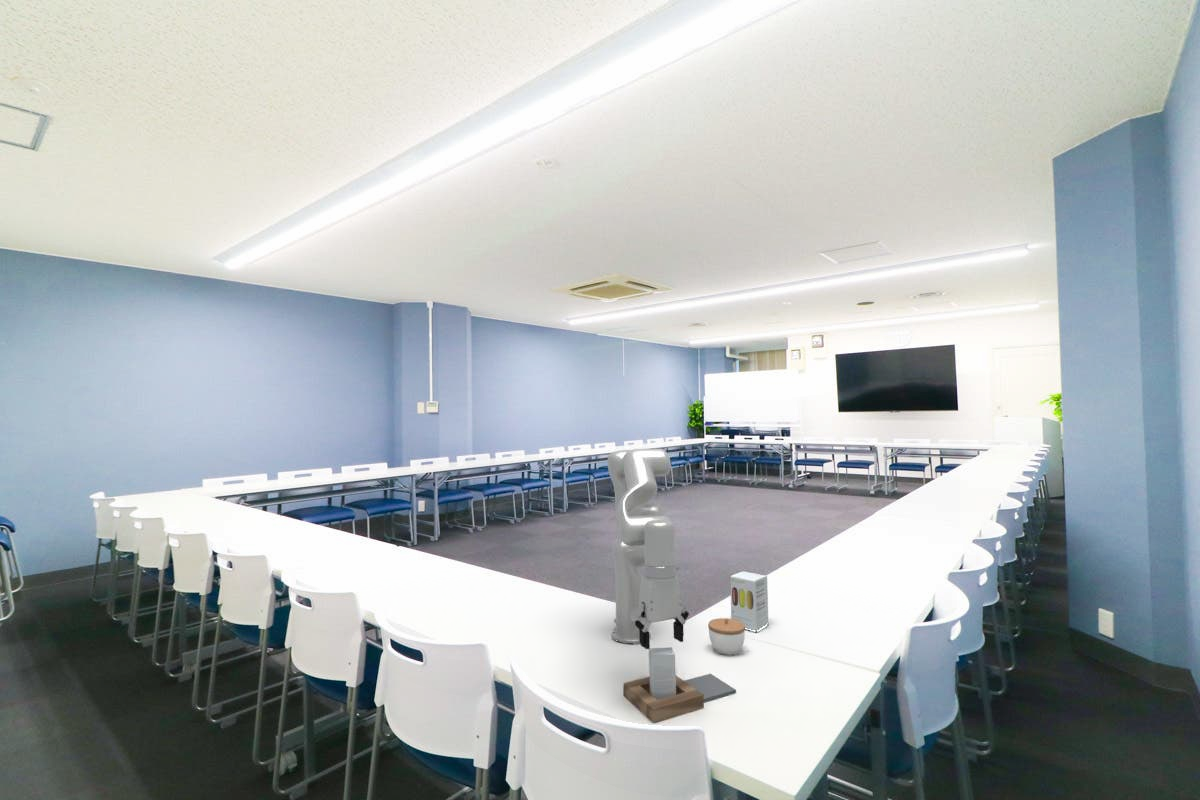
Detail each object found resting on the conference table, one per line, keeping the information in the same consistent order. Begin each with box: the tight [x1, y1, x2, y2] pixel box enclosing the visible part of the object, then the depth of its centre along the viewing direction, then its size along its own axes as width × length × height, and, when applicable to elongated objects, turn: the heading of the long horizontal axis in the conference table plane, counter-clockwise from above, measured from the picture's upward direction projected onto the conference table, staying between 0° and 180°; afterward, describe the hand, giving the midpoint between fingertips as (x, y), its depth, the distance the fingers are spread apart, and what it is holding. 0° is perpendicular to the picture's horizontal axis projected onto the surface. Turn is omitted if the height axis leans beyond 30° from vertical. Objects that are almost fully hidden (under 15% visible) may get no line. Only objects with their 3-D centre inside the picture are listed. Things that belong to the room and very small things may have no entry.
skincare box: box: [648, 647, 677, 700], centre depth 125 cm, size 6×4×12 cm
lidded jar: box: [707, 617, 746, 656], centre depth 154 cm, size 11×11×9 cm
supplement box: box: [730, 570, 769, 631], centre depth 174 cm, size 10×9×17 cm
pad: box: [683, 673, 737, 703], centre depth 130 cm, size 10×10×1 cm
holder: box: [622, 675, 705, 724], centre depth 125 cm, size 14×14×3 cm
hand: (662, 643), depth 125 cm, fingers open, 9 cm apart
